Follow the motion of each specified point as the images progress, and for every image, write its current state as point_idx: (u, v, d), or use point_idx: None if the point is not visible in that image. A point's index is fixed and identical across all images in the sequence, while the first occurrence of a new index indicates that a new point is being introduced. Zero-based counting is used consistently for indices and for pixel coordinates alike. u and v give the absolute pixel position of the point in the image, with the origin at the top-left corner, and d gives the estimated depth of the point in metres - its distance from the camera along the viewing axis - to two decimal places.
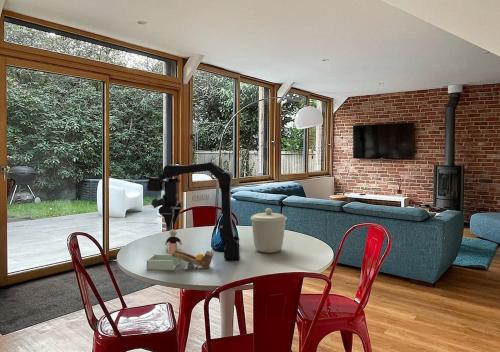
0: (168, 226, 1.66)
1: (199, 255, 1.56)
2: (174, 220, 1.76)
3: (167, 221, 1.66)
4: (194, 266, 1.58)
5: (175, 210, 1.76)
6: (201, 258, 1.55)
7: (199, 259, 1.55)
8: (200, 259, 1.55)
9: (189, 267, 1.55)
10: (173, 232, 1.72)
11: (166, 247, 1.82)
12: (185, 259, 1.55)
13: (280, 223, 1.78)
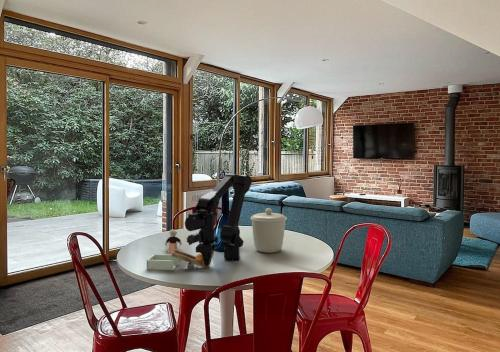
0: (206, 264, 1.54)
1: (199, 255, 1.56)
2: None
3: (205, 259, 1.53)
4: (194, 266, 1.58)
5: None
6: (201, 258, 1.55)
7: (199, 259, 1.55)
8: (200, 259, 1.55)
9: (189, 267, 1.55)
10: (173, 232, 1.72)
11: (166, 247, 1.81)
12: (185, 259, 1.55)
13: (280, 223, 1.78)
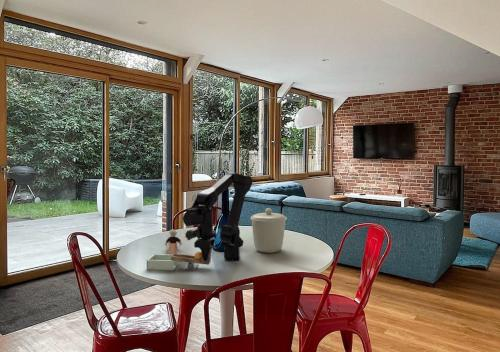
0: (205, 259, 1.54)
1: (197, 253, 1.56)
2: None
3: (204, 254, 1.53)
4: (194, 266, 1.58)
5: None
6: (200, 256, 1.55)
7: (198, 257, 1.55)
8: (199, 257, 1.55)
9: (189, 267, 1.55)
10: (173, 232, 1.72)
11: (166, 247, 1.81)
12: (184, 260, 1.55)
13: (280, 223, 1.78)
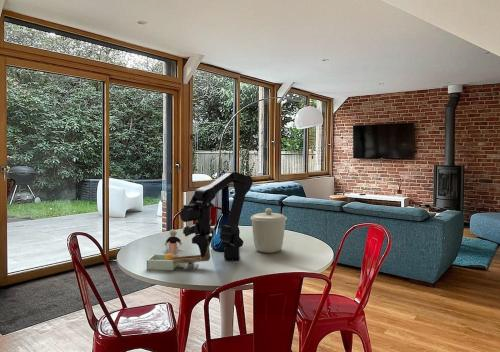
0: (203, 255, 1.54)
1: (165, 256, 1.57)
2: None
3: (202, 250, 1.53)
4: (194, 266, 1.58)
5: None
6: (169, 256, 1.56)
7: (168, 258, 1.56)
8: (169, 257, 1.56)
9: (189, 267, 1.55)
10: (173, 232, 1.72)
11: (166, 248, 1.81)
12: (184, 261, 1.55)
13: (280, 223, 1.78)
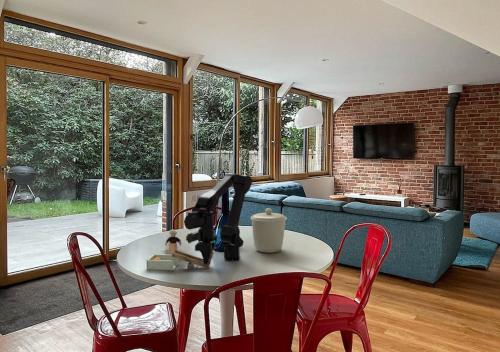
0: (205, 262, 1.54)
1: None
2: None
3: (205, 257, 1.53)
4: (194, 266, 1.58)
5: None
6: None
7: None
8: None
9: (189, 267, 1.55)
10: (173, 232, 1.72)
11: (166, 248, 1.80)
12: (185, 259, 1.55)
13: (280, 223, 1.78)
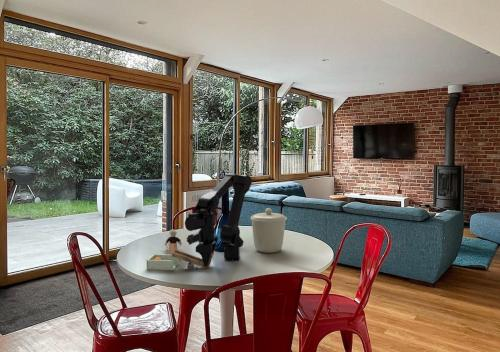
0: (205, 264, 1.52)
1: None
2: None
3: (205, 259, 1.52)
4: (194, 266, 1.58)
5: None
6: None
7: None
8: None
9: (189, 267, 1.55)
10: (173, 232, 1.72)
11: (166, 248, 1.80)
12: (185, 259, 1.55)
13: (280, 223, 1.78)
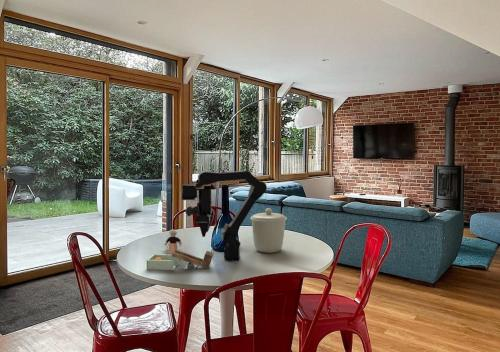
0: (203, 235, 1.62)
1: None
2: None
3: (203, 230, 1.61)
4: (194, 266, 1.58)
5: None
6: None
7: None
8: None
9: (189, 267, 1.55)
10: (173, 232, 1.72)
11: (166, 248, 1.79)
12: (185, 259, 1.55)
13: (280, 223, 1.78)
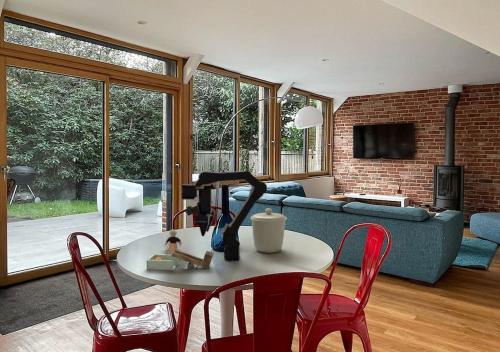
0: (203, 234, 1.62)
1: None
2: (207, 228, 1.72)
3: (202, 229, 1.62)
4: (194, 266, 1.58)
5: None
6: None
7: None
8: None
9: (189, 267, 1.55)
10: (173, 232, 1.72)
11: (166, 248, 1.79)
12: (185, 259, 1.55)
13: (280, 223, 1.78)
